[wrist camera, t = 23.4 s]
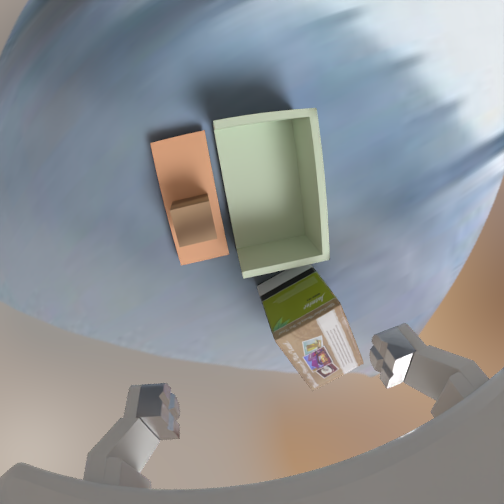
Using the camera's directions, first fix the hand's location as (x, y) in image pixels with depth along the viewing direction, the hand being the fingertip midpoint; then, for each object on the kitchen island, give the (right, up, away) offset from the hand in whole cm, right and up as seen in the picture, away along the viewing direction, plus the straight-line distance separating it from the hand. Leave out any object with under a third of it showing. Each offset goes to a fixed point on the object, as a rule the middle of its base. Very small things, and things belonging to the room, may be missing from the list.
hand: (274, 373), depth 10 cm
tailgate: (-5, +13, +29) cm, 32 cm away
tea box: (+7, -4, +40) cm, 41 cm away
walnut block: (-9, +10, +29) cm, 32 cm away
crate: (+1, +15, +30) cm, 34 cm away
